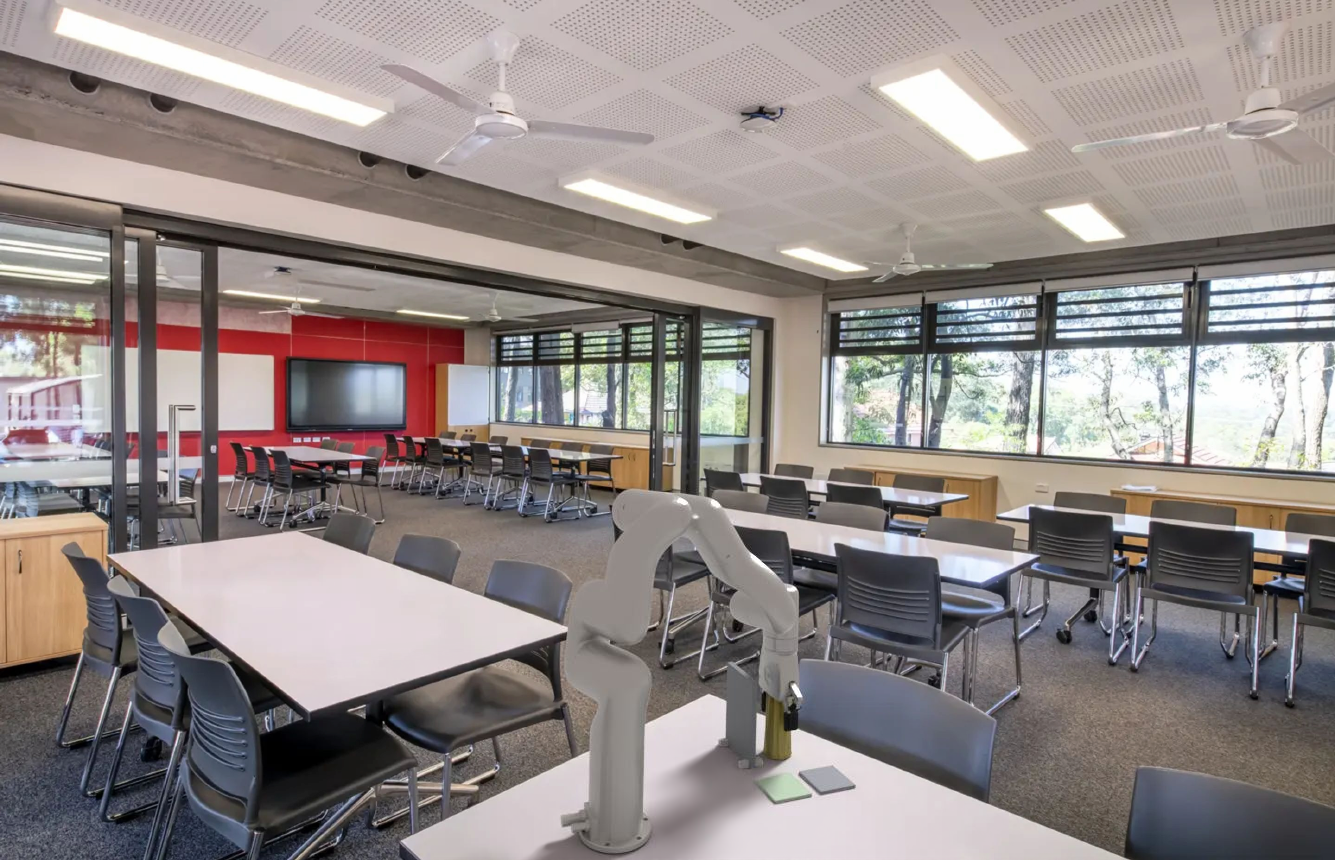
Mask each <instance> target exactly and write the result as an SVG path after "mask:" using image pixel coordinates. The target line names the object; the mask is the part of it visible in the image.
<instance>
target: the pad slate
mask: <svg viewBox="0 0 1335 860" xmlns="http://www.w3.org/2000/svg"><path fill="white" fill-rule="evenodd" d="M798 774H799V775H800V777H802V778H803V779H804V780H805V781H806V782H807V783H808V784H809V785H810V786H811V787H812V788H813V789H814V790H816V792H817V793H819V794H820V795H824V794H825V795H826V794H829V793H834V792H835V793H836V792H840V791H845V790H848V789H855V788H856V786H857V785H856V783H854V782H853V781H852V780H851V779H850V778H849V777H847V776H846V775H845V774H844V773H842V772H841V771H840V770H839V769H838V768H837V767H835V766H834V765H831V764H830V765H827V766H821V767H816V768H810V769H805V770H799V771H798Z"/></svg>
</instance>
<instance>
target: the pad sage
mask: <svg viewBox="0 0 1335 860" xmlns="http://www.w3.org/2000/svg"><path fill="white" fill-rule="evenodd" d="M754 782H755V783H756V784H757V785H758V787H759V788H760V789H761V790H762V791H763V792H764V793H765V794H766V795H767V796H768V797H769V799H771V801H773V803H774V804H780V803H783V802H789V801H794V800H800V799H805V798H808V797H809V798H811V797H812V796H813V793H812V792H811V791H810V790H809V789H808V788H807V787H806V786H805V785H804V784H802V783H801V781H799V779H797V777H795V775H793V774H792V773H791V772H789V773H784V774H777V775H771V776H766V777H761V778H757V779H755V781H754Z"/></svg>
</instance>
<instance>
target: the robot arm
mask: <svg viewBox="0 0 1335 860" xmlns="http://www.w3.org/2000/svg"><path fill="white" fill-rule="evenodd" d="M611 516H612V520H613V522H614V524H615V525H616V527H617V528H618V529H620V530H621V531H622V533H621V534H620V535H619V537H618V538H617V539H616V541H615V543H614V544H613V546H612V549H611V551H610V553H609V557H608V560H607V565H606V566H607V567H606V572H605V577H604V579H603V578H594V579H590V580H589V581H586V582H585V583H583V584H582V585H581V586H580V587H579V588H578V590H577V592H575V595H574V597H573V599H572V601H571V605H570V608H569V615H568V624H567V632H566V642H565V650H564V651H565V652H564V666H563V668H564V675H565V677H566V680H567V682H568V683H569V684H570V685H571V686H572V687H573V688H574V689H575V690H577V691H579V692H581V693H583V694H584V695H586V696H587V697H589V698H591V699H592V700H594V701H596V702H597V705H598V706H597V711H596V713H595V715H594V716H593V719H592V722H591V724H590V729H589V755H588V756H589V760H588V761H589V762H588V763H589V765H588V766H589V767H588V768H589V769H588V801H585V802H583V809H579V810H578V812H574V813H572V812H570V813H566V814H565V813H564V814H560V827H561V828H568V827H570V830H571V834H572V833H573V834H574V833H578V834H579V838H580V840H581V842H582V843H583V844H584V845H585V846H587V847H588V848H589V849H592V850H594V851H595V852H600V853H605V854H624V853H629V852H631V851H634V850H637V849H639V848H641V847H642V846H643V845H645V844H646V843H647V842H648V841H649V839H650V838H651V835H652V829H653V828H652V827H653V825H652V821H651V819H650V818H649V816H648V815H647V813H645V812H644V781H645V779H644V778H645V777H644V776H645V775H644V774H645V735H646V734H645V733H646V716H647V711H648V710H647V709H648V703H649V699H650V696H651V695H650V694H651V690H652V685H653V684H652V683H653V681H652V674H651V671H650V669H649V667H648V665H647V664H646V663H645V661H644V660H642V659H641V657H639V656H637V655H636V654H634V653H633V652H630V651H627V650H626V649H624V648H621V647H619V646H615V645H614V644H611V641H612V642H615V643H617V644H620V645H625V646H626V645H627V646H632V645H633V646H634V645H635V644H639V643H640V642H641V641H642V640H643V639H644V638H645V636H646V634H647V632H648V628H649V626H650V619H651V612H652V600H653V593H654V583H655V576H656V569H657V565H658V563H659V562H660V559H661V557H662V556H663V554H664V553H665V551H666V550H667V549H668V548H669V547H670V546H671V545H672V544H673V543H674V542H676V541H677V540H678V539H680V538H682V537H683V538H687V539H688V540H690V541H691V543H692V544H693V546H694V547H695V549H696V550H697V552H698V554H699V555H700V557H701V558H702V560H703V562H704V563H705V565H706V567H707V568H708V570H709V571H710V573H711V574H712V575H713V576H714V577H715V578H716V579H718V580H720V581H721V582H723V583H725V584H726V585H728V586H729V587H732V588H733V589H735V590H737V591H735V593H734V594H733V595H732V596H731V598H730V600H729V611H730V613H731V614H730V615H731V616H732V617H733V618H734V619H735V620H736V621H738V622H740V623H742V624H745V625H748V626H751V627H753V628H754V627H755V628H756V629H761V630H762V645H761V650H760V651H761V652H760V658H759V666H758V667H759V668H758V685H759V687H760V693H761V706H760V707H761V708H760V711H761V712H763V713H766V698H767V690H768V694H769V695H770V696H772V697H773V698H774V699H775V700H777V701H779V702H781V701H783V704H784V707H785V710H786V712H784V731H785V732H787V731H791V732H792V731H797V730H799V729H798V728H799V713H800V711H801V709H802V704H803V702H804V696H803V694H802V693H801V691H800V674H799V673H800V670H799V669H800V668H799V659H798V657H799V656H798V651H799V614H800V613H799V611H800V610H799V607H800V605H799V604H800V603H799V602H800V601H799V600H800V595H799V590H798V589H797V587H796V586H794V585H792V584H789V583H784V582H783V580H782V579H781V578H780V577H779V576H778V575H777V574H776V573H775V572H774V571H773V570H772V569H771V568H770V567H768V565H766V564H765V563H764V562H762V560H761V559H759V558H758V557H757V556H756V555H754V554H753V553H752V552H751V551H750V550H749V549H748V548H747V547H746V546H745V544H744V541H743V540H742V538H741V537H740V535H739V533H738V531H737V530H736V528H735V526H734V525H733V523H732V520H731V519H730V518H729V516H728V514H727V513H726V510H725V509H724V507H723V506H722V504H720V503H719V501H717V500H715V499H714V498H711V497H708V496H703V495H702V496H701V495H695V494H689V493H683V492H666V491H657V490H649V489H642V488H641V489H639V488H628V489H625V490H623V491H622V492H620V493H619V494H618V495H617V496H616V498H615V499H614V501H613V503H612V507H611ZM790 694H791V695H790ZM787 695H790V696H791V697H787ZM788 701H791V705H790V706H789V704H788Z"/></svg>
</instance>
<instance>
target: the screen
mask: <svg viewBox="0 0 1335 860" xmlns="http://www.w3.org/2000/svg"><path fill="white" fill-rule="evenodd" d="M726 665H727V667H726V668H727V669H726V701H725V702H726V703H725V705H726V706H725V708H726V709H725V737H722V738H718V741H717V742H718V743H717V744H718V746H719V747H727V746H729V748H731V750H732V751H733V752H734V753H735V754H736V755H737V756H738V758H740V759H741V760H739V759H738V767H739V769H740V770H743V769H748V768H749V769H755V768H756V767H760V766H761V767H762V766H763V765H764V764H763V761H764V760H763V758H762V757H761V756H757V757H756V754H757V753H756V751H757V717H758V713H757V712H758V711H757V710H758V681H757V680H756V679H755V678H753V677H752V676H751V675H750V674H748V673H747V672H746V671H745V670H743V669H742V668H741V667H740V666H738V665H737V664H736V663H735V662H734V661H728V662H727V663H726Z"/></svg>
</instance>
